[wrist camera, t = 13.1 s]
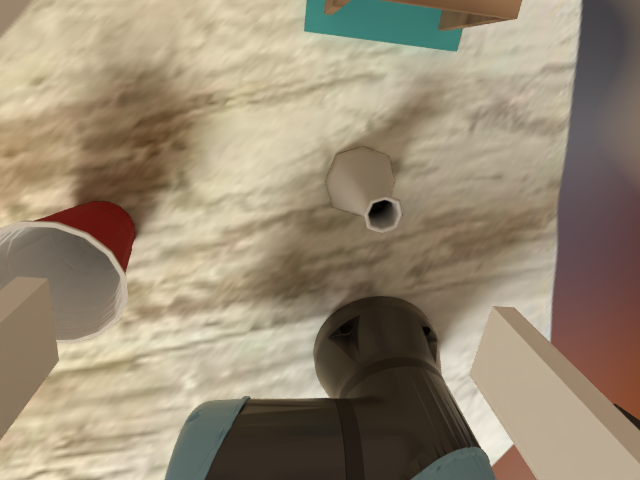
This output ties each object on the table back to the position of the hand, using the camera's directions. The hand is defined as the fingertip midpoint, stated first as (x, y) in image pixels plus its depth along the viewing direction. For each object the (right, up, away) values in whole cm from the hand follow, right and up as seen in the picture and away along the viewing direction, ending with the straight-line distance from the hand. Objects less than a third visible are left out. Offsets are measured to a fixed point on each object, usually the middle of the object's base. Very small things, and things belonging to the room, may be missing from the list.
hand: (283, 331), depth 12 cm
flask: (+5, +9, +30) cm, 31 cm away
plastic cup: (-20, +4, +29) cm, 35 cm away
